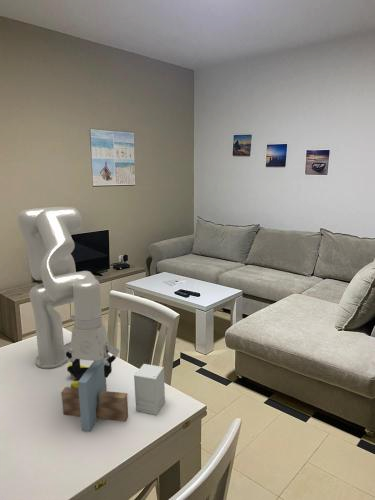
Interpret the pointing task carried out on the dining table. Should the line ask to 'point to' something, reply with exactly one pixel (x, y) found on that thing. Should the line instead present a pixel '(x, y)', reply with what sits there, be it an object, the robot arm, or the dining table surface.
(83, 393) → the slate slotted plate
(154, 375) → the supplement box
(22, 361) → the dining table surface
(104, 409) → the walnut slotted plate
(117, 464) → the dining table surface
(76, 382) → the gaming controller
